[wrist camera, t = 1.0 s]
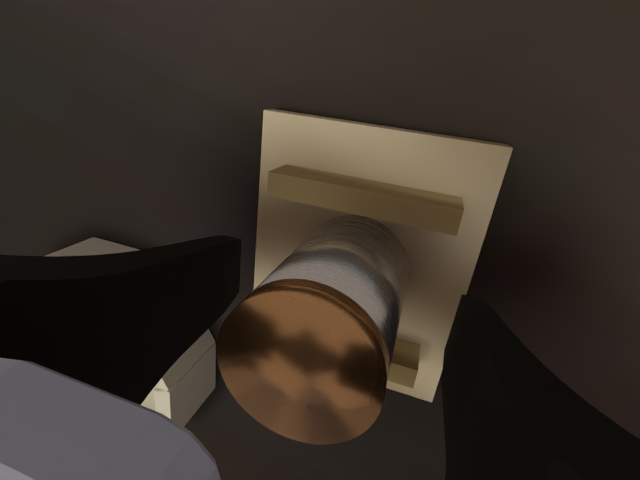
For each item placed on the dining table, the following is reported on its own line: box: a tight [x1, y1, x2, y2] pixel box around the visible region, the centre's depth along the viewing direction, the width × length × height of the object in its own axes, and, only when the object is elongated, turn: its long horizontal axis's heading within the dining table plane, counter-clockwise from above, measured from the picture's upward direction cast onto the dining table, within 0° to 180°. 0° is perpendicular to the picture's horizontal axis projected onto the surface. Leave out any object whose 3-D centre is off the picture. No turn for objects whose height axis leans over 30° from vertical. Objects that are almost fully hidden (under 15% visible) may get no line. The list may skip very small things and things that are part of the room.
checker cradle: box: [254, 109, 513, 402], centre depth 13 cm, size 10×8×2 cm
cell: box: [216, 215, 409, 445], centre depth 11 cm, size 4×4×6 cm
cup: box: [46, 237, 216, 427], centre depth 19 cm, size 11×11×4 cm
